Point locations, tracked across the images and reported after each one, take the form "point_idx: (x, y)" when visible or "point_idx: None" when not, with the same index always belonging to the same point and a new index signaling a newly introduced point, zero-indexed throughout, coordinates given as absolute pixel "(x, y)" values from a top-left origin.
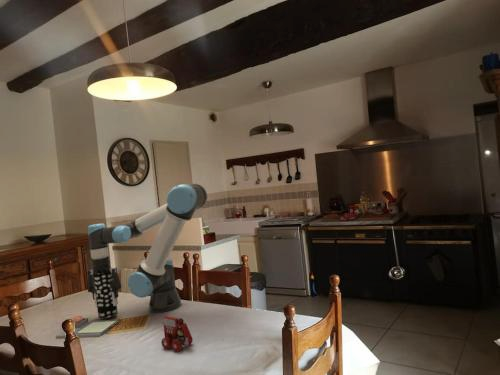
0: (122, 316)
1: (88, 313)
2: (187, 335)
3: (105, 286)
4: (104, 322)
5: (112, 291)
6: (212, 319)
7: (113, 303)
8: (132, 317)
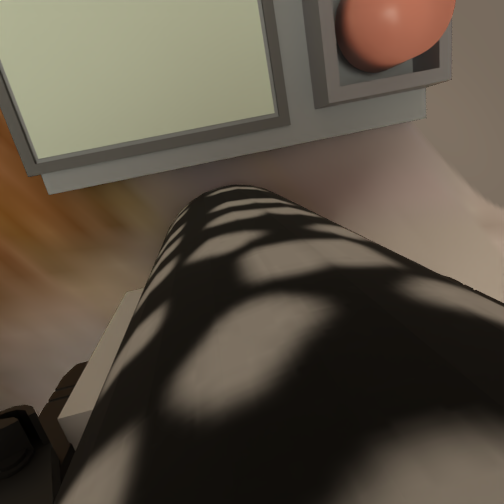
0: None
1: None
2: None
3: (79, 472)
4: (138, 112)
5: (27, 411)
6: None
7: (134, 301)
8: (16, 289)
